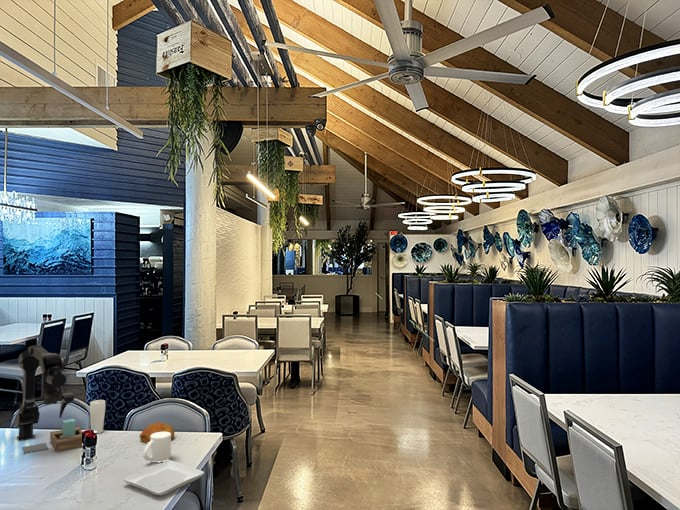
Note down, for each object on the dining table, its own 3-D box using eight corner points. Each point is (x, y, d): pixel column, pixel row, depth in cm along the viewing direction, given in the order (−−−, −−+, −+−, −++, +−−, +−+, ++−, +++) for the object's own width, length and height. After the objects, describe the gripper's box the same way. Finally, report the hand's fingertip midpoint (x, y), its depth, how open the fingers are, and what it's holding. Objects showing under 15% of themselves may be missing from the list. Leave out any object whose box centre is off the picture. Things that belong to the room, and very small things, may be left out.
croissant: (160, 436, 238) (160, 419, 239) (179, 438, 229) (179, 421, 230) (133, 443, 226) (132, 426, 227) (152, 446, 217) (151, 427, 218)
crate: (50, 442, 221) (50, 431, 222) (79, 436, 229) (79, 426, 229) (56, 452, 209) (56, 441, 209) (86, 446, 217) (87, 436, 217)
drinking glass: (98, 435, 231) (99, 403, 232) (85, 434, 233) (86, 402, 233) (107, 430, 238) (108, 400, 238) (95, 429, 239) (96, 399, 240)
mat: (21, 447, 214) (21, 447, 214) (45, 443, 219) (45, 442, 219) (24, 454, 207) (24, 453, 207) (48, 449, 212) (48, 448, 212)
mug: (175, 433, 204) (150, 441, 194) (174, 458, 204) (149, 467, 194) (163, 430, 209) (138, 437, 199) (162, 454, 208) (137, 463, 198)
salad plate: (158, 502, 166) (159, 492, 166) (121, 487, 177) (121, 477, 177) (205, 480, 184) (206, 471, 184) (169, 467, 195) (169, 459, 195)
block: (62, 436, 219) (62, 420, 220) (73, 434, 222) (73, 418, 223) (63, 438, 216) (64, 422, 216) (75, 436, 219) (75, 421, 219)
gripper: (25, 390, 199) (24, 428, 199) (76, 384, 210) (75, 420, 210) (23, 384, 208) (22, 421, 207) (72, 379, 219) (71, 414, 219)
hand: (48, 419), depth 211 cm, fingers open, 9 cm apart
